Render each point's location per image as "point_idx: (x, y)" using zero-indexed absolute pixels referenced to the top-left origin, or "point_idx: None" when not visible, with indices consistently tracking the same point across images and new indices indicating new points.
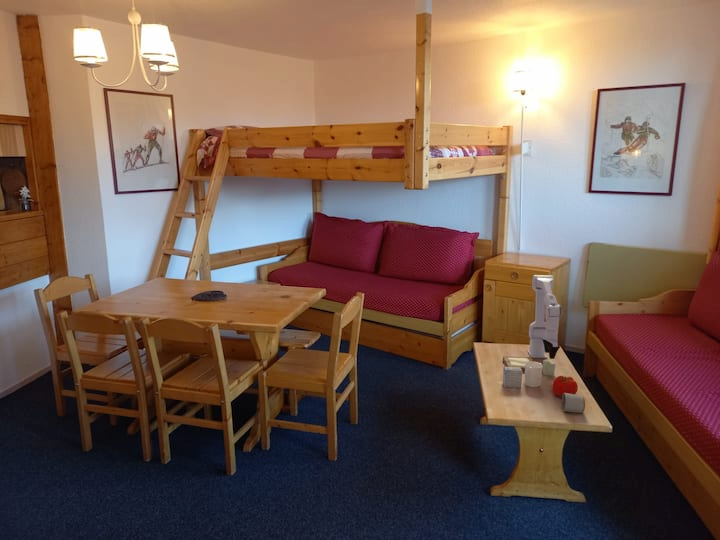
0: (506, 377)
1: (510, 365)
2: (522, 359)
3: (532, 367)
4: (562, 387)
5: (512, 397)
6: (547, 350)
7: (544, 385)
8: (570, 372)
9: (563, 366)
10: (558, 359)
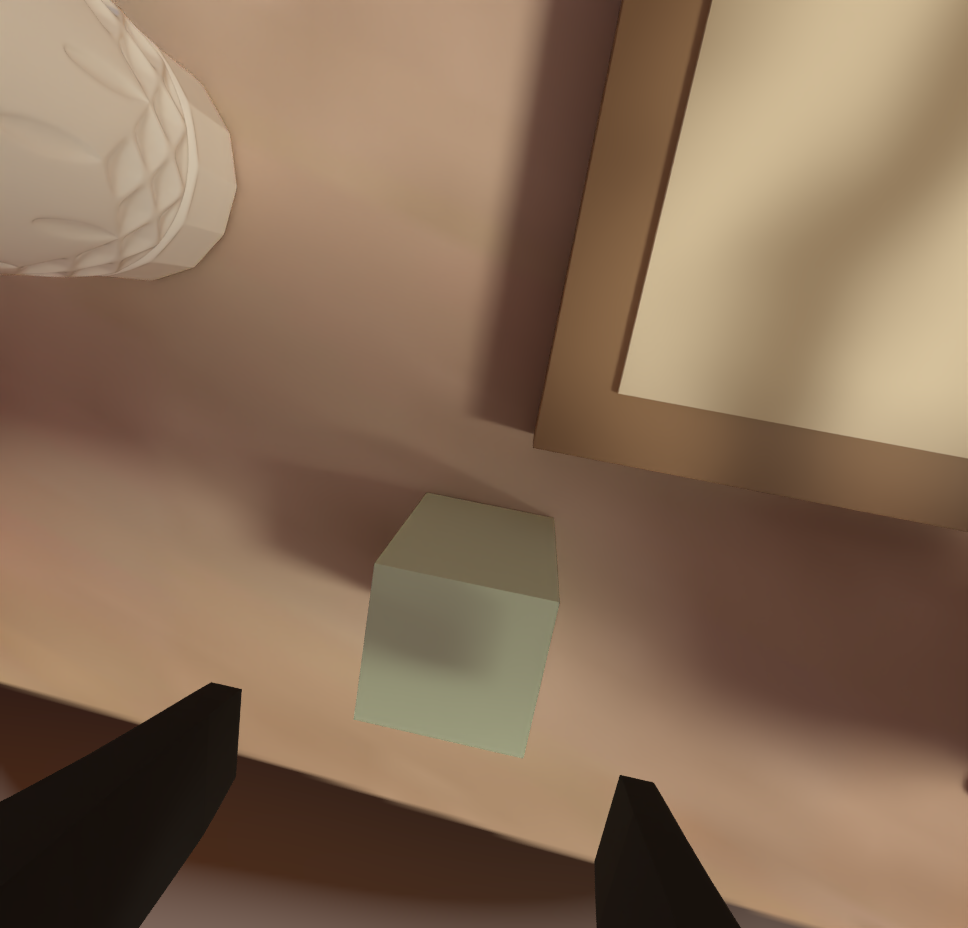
0: None
1: None
2: (958, 336)
3: (39, 113)
4: None
5: None
6: (618, 882)
7: (113, 334)
8: (468, 822)
9: None
10: (883, 903)
